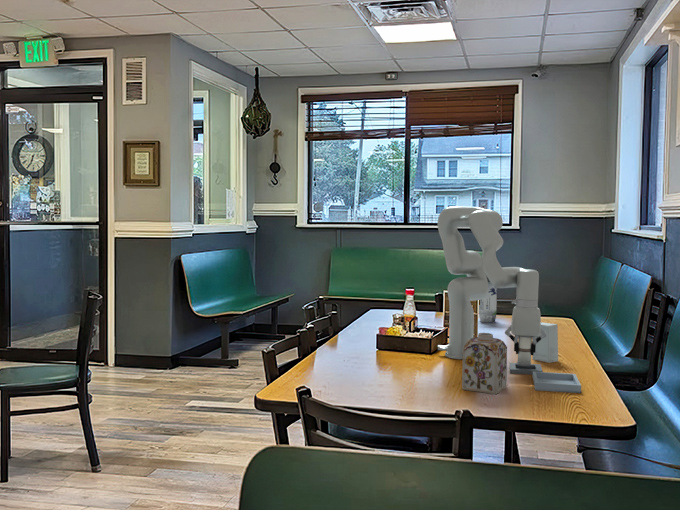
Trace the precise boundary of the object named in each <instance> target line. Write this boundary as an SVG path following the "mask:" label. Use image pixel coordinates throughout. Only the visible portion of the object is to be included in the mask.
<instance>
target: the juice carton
mask: <svg viewBox="0 0 680 510" xmlns="http://www.w3.org/2000/svg"><path fill="white" fill-rule="evenodd" d="M486 277H487V275H486ZM487 282H488V293H487V296H486V297H485V298H483V299H481V300H480V305H479V304H478V317H479V321H480V323H488V322H494V323H495V322H496V319H497V308H498V307H497V303H498V302H497V301H498V299H497V296H498V294H497V293H498V288H497V287H495V286H494V285H493V284H492V283H491V282H490V281H489V279H488V277H487Z"/></svg>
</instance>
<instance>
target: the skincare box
mask: <svg viewBox="0 0 680 510" xmlns="http://www.w3.org/2000/svg"><path fill="white" fill-rule="evenodd" d="M558 326H559V325H558V324H557V323H549V322H543V321H541V328H542V329H543V331H544V332H545V334H546V337H544V338H543V339H541V340H540V341H539V342H538V343H537V344H536V350H535V353H533V355H532V360H533V361H539V362H544V363H555V362H559V333H558V331H559V330H558V329H559V327H558ZM540 335H541V333H540ZM540 335H539V336H540ZM537 337H538V336H537ZM537 337H536V338H537ZM532 341H533V340H532Z"/></svg>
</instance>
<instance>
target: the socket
mask: <svg viewBox="0 0 680 510" xmlns="http://www.w3.org/2000/svg"><path fill="white" fill-rule="evenodd" d="M533 371H534V372H544V371H543V368H542V364H539V363H538V364H537V363H531V367H520V366H517V362H509V374H515V375H516V374H517V375H529V376H531V375H532V376H533Z"/></svg>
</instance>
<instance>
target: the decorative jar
mask: <svg viewBox="0 0 680 510" xmlns="http://www.w3.org/2000/svg"><path fill="white" fill-rule="evenodd" d="M477 335H478V336H477V337H473V338H471V339H468V340H467V342H466V344H465V346H464V348H463V359H462V372H461V373H462V374H461V389H462V390H463V391H469V392H476V393H482V394H490V395H497V394H498V393H500V392H501V391H503V390H504V389H505V388H507V386H508V385H507V383H508V382H507V381H508V380H507V379H508V346H507V344H506V343H505V341H504V340H502V339H500V338H496V337H494V336H493V335H494V334H493V333H489V332H478V334H477Z"/></svg>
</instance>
